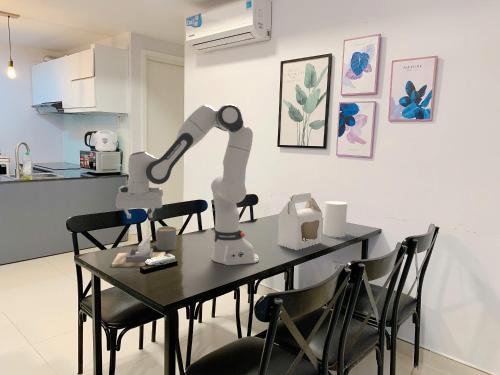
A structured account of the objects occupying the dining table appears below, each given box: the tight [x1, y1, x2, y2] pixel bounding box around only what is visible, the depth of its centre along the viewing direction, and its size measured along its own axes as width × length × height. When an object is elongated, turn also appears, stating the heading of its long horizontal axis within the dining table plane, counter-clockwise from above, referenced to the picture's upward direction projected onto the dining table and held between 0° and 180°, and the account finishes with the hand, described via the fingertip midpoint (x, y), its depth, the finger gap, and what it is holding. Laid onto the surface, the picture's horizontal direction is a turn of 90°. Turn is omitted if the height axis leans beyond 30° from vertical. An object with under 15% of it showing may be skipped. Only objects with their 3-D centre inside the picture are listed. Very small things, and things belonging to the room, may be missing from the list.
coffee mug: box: [155, 225, 177, 251], centre depth 195 cm, size 13×10×10 cm
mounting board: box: [111, 251, 166, 268], centre depth 174 cm, size 22×16×1 cm
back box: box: [126, 248, 154, 262], centre depth 173 cm, size 11×12×2 cm
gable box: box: [277, 192, 323, 251], centre depth 206 cm, size 22×13×28 cm, turn 135°
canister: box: [322, 200, 348, 238], centre depth 229 cm, size 14×14×20 cm
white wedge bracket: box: [135, 235, 151, 256], centre depth 174 cm, size 4×10×9 cm
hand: (139, 217), depth 171 cm, fingers open, 8 cm apart
